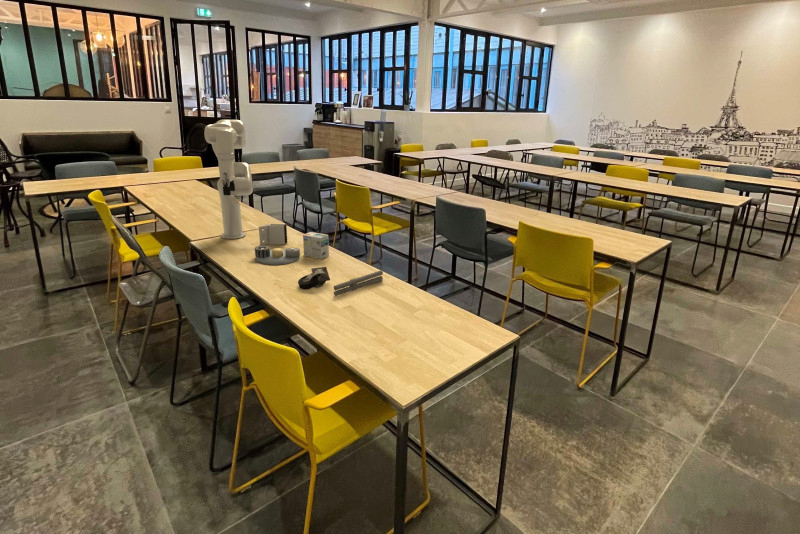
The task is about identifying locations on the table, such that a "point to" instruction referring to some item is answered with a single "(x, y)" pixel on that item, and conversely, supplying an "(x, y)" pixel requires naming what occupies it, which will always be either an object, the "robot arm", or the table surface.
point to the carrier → (281, 256)
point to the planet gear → (262, 251)
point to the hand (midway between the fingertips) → (229, 193)
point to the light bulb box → (316, 245)
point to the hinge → (273, 234)
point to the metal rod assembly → (355, 283)
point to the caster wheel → (314, 279)
